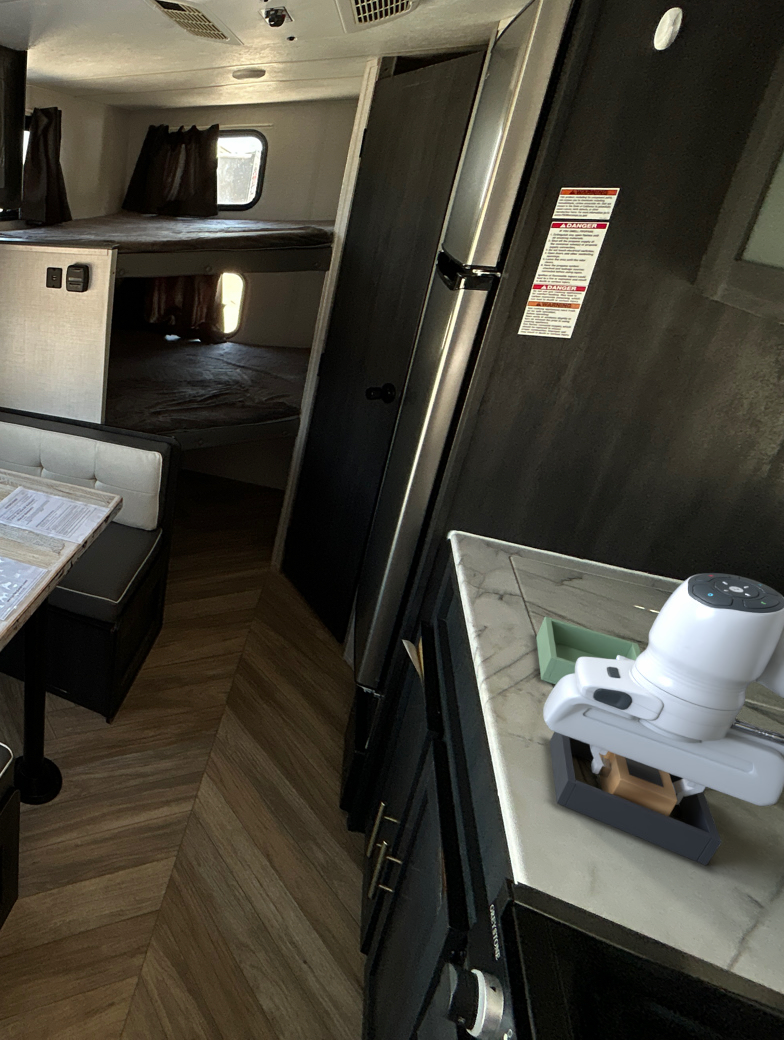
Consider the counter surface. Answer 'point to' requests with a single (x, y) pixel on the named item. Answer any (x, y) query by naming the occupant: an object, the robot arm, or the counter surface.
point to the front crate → (634, 807)
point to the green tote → (575, 648)
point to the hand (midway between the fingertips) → (631, 784)
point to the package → (639, 784)
